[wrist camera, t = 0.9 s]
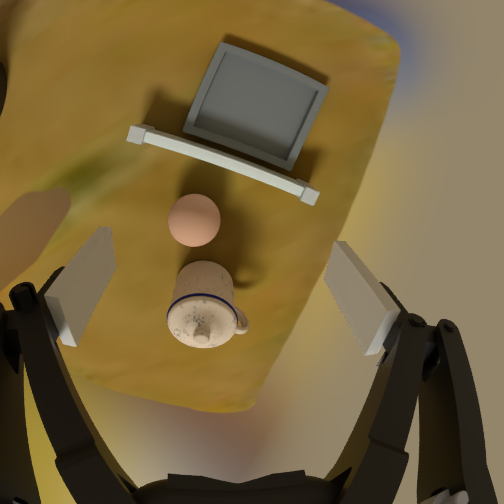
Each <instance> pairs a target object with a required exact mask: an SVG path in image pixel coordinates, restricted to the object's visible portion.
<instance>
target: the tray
mask: <svg viewBox="0 0 504 504" xmlns="http://www.w3.org/2000/svg"><path fill="white" fill-rule="evenodd" d="M328 90H329V87H327V86H325V85H323V84H321V83H320V82H318V81H316V80H314V79H312V78H310V77H308V76H306V75H304V74H302V73H300V72H297V71H295V70H293V69H291V68H289V67H287V66H284V65H282V64H280V63H277V62H275V61H273V60H270V59H268V58H265V57H263V56H260V55H258V54H255V53H253V52H250V51H247V50H244V49H242V48H239V47H236V46H233V45H230V44H227V43H224V42H221V43H220V45H219V47H218V49H217V51H216V53H215V55H214V57H213V59H212V61H211V63H210V65H209V67H208V70H207V72H206V74H205V76H204V78H203V81H202V83H201V85H200V88H199V90H198V92H197V95H196V97H195V99H194V102H193V104H192V107H191V109H190V112H189V114H188V117H187V119H186V122H185V125H184V127H183V130H182V132H185V133H188V134H191V135H195V136H198V137H201V138H204V139H207V140H210V141H212V142H215V143H218V144H221V145H224V146H227V147H229V148H232V149H235V150H238V151H240V152H243V153H246V154H248V155H251V156H254V157H256V158H259V159H261V160H264V161H266V162H269V163H271V164H274V165H276V166H278V167H281V168H283V169H286V170H288V171H290V172H291V170H292V168H293V166H294V164H295V161H296V159H297V157H298V155H299V153H300V151H301V148H302V146H303V144H304V142H305V140H306V137H307V135H308V133H309V131H310V129H311V127H312V124H313V122H314V120H315V118H316V116H317V114H318V111H319V109H320V107H321V105H322V103H323V101H324V98H325V96H326V94H327V92H328Z"/></svg>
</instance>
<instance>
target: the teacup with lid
mask: <svg viewBox="0 0 504 504" xmlns="http://www.w3.org/2000/svg"><path fill="white" fill-rule="evenodd" d="M238 319H239V321H240V322H241V325H242V327H241V326H238ZM167 323H168V326H169V329H170V331H171V332H172V334H173V335H174V336H175V337H176V338H177V339H178V340H179V341H181V342H183V343H184V344H187V345H189V346H192V347H197V348H211V347H216V346H219V345H221V344H223V343H225V342H227V341H228V340H229V339H230V338H231V337H232V336H233V335H234V333H236V334H244V333H246V332H247V331H248V329H249V321H248V319H247V317H246V316H245V314H244V313H243V312H242V311H241V310H240V309H239V308H237V307H236V306H235V302H234V290H233V281H232V278H231V276H230V274H229V272H228V271H227V270H226V269H225V268H224V267H222V266H221V265H219V264H217V263H214V262H211V261H196V262H193V263H190V264H188V265H186V266H185V267H184V268H183V269H182V270H181V271H180V272H179V274H178V276H177V279H176V284H175V288H174V293H173V298H172V302H171V306H170V308H169V310H168V313H167Z"/></svg>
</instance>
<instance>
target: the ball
mask: <svg viewBox="0 0 504 504" xmlns="http://www.w3.org/2000/svg"><path fill="white" fill-rule="evenodd" d="M220 220H221V219H220V213H219V210H218V208H217V206H216V205H215V203H214V202H213V201H212V200H211V199H209V198H208V197H206V196H204V195H200V194H189V195H185V196H183V197H181V198H180V199H178V200H177V201H176V202H175V203H174V205H173V206H172V207H171V209H170V212H169V216H168V225H169V229H170V232H171V234H172V235H173V237H174V238H175V239H176V240H177V241H179V242H180V243H182V244H184V245H186V246H191V247H197V246H202V245H204V244H206V243H208V242H210V241H211V240H212V239H213V238H214V237H215V236H216V234H217V232H218V230H219V227H220Z"/></svg>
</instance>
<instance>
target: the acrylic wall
mask: <svg viewBox="0 0 504 504" xmlns="http://www.w3.org/2000/svg"><path fill="white" fill-rule="evenodd" d="M126 141H129V142H132V143H136V144H139V145H142V144H144V143H149V144H153V145H156V146H159V147H163V148H166V149H169V150H172V151H176V152H179V153H182V154H185V155H188V156H191V157H194V158H197V159H200V160H203V161H206V162H209V163H212V164H215V165H218V166H221V167H224V168H227V169H229V170H232V171H235V172H238V173H240V174H243V175H246V176H248V177H251V178H254V179H256V180H259V181H262V182H264V183H267V184H269V185H272V186H274V187H277V188H280V189H282V190H285V191H287V192H289V193H292V194H294V195H296V196H297V197H298V199H299V200H300V201H302V202H305V203H307V204H310V205H312V206H314V204H315V202H316V200H317V198H318V196H319V194H320V192H318V191H317V190H316V189H315V188H314V187H313V186H311V185H310V184H309V183H307V182H305V181H303V180H301V179H298V178H297V179H296V180H295V179H293V178H290V177H288V176H285V175H283V174H281V173H278V172H276V171H273V170H271V169H268V168H266V167H263V166H261V165H258V164H256V163H253V162H250V161H248V160H245V159H242V158H240V157H237V156H234V155H232V154H229V153H226V152H223V151H220V150H218V149H215V148H212V147H209V146H206V145H203V144H200V143H197V142H194V141H191V140H188V139H185V138H181V137H178V136H175V135H172V134H168V133H165V132H162V131H158V130H155V127H153V126H149V125H145V124H137V125H131V127H130V130H129V134H128V137H127V140H126Z"/></svg>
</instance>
